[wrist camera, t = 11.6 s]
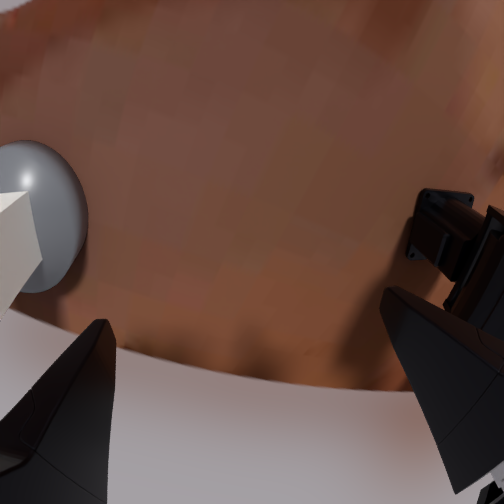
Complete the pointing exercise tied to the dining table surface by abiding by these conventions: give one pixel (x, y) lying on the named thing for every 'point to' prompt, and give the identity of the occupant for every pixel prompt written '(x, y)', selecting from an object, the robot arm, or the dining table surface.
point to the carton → (16, 246)
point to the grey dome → (47, 206)
